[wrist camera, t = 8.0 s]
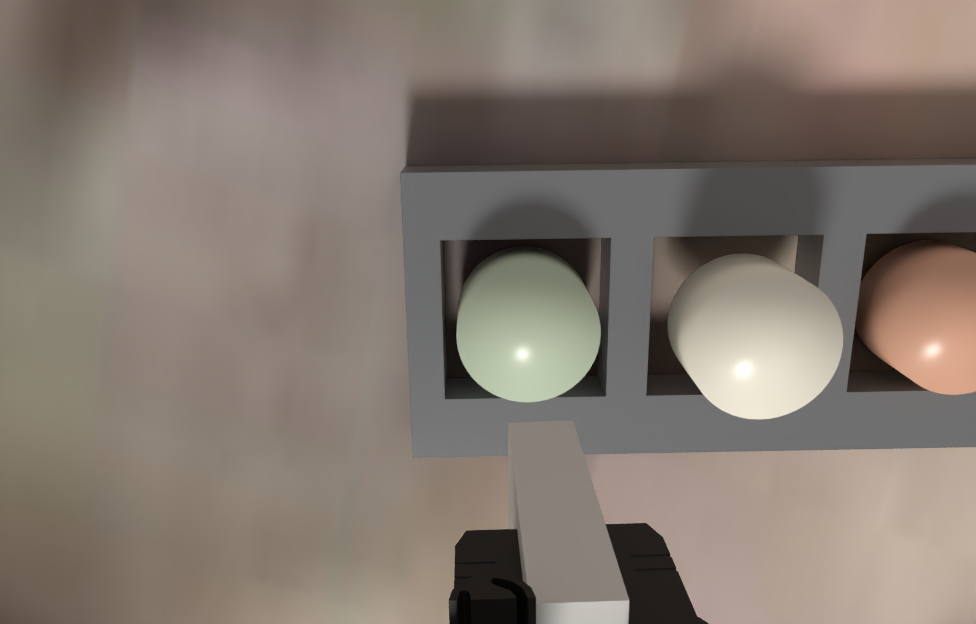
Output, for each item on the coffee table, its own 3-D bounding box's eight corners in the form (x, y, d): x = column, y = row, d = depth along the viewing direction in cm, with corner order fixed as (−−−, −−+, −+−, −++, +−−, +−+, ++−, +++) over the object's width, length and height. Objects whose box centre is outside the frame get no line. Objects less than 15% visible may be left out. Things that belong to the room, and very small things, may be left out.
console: (416, 433, 30) (412, 457, 28) (405, 166, 27) (400, 173, 25) (992, 422, 30) (1028, 445, 28) (1042, 156, 27) (1085, 162, 25)
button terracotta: (846, 366, 28) (885, 396, 26) (861, 241, 27) (904, 258, 24) (972, 363, 28) (1023, 393, 26) (994, 239, 27) (1051, 256, 24)
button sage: (459, 372, 28) (457, 403, 26) (456, 247, 27) (454, 266, 24) (587, 370, 28) (598, 401, 26) (590, 245, 27) (602, 263, 24)
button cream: (663, 386, 27) (685, 420, 24) (671, 254, 25) (694, 275, 23) (798, 384, 27) (833, 418, 24) (812, 252, 26) (852, 272, 23)
